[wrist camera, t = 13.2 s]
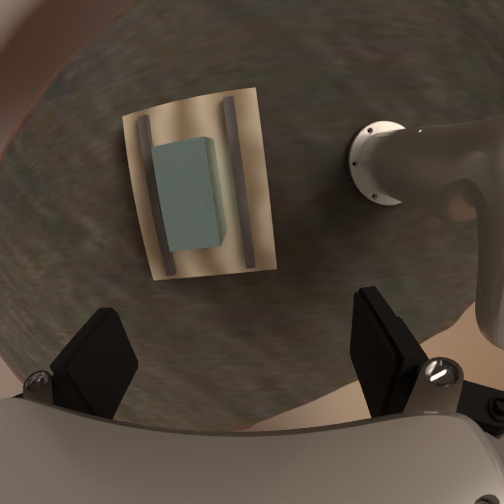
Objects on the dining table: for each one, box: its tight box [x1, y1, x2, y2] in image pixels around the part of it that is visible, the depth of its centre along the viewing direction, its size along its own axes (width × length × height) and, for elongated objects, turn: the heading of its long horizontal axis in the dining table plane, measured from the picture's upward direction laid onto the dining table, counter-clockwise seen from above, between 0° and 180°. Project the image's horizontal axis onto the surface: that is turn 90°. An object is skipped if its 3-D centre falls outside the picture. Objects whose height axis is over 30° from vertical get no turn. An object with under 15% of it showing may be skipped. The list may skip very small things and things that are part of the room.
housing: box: [151, 136, 227, 252], centre depth 31 cm, size 12×6×6 cm, turn 7°
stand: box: [122, 88, 277, 280], centre depth 35 cm, size 18×24×5 cm
